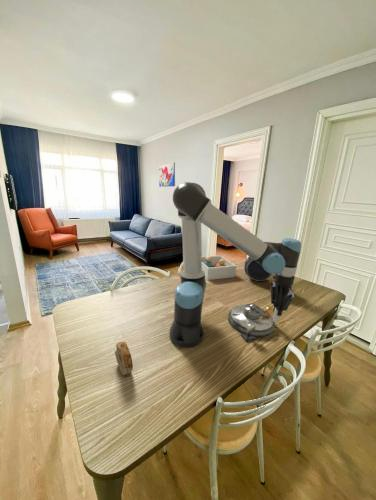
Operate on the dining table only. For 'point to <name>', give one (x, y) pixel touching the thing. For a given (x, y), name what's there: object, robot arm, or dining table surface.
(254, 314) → the cover
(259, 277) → the dark decorated bowl
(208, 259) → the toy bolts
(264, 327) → the turntable
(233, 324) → the turntable base
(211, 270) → the parts crate
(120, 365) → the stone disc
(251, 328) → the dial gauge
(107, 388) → the dining table surface
